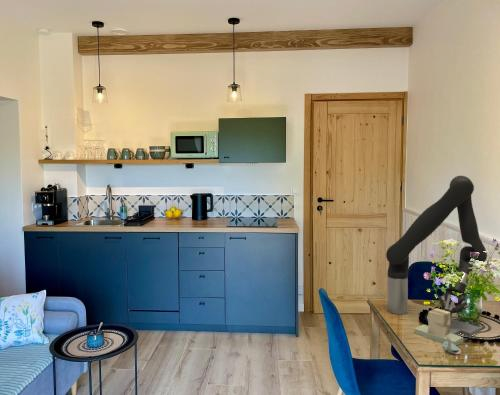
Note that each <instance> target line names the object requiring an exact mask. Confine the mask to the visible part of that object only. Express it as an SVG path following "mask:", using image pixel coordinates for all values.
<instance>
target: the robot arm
mask: <svg viewBox="0 0 500 395" xmlns="http://www.w3.org/2000/svg"><path fill="white" fill-rule="evenodd" d="M474 191H475V185H474V183H473V181H472V180H471V179H470V178H469V177H467V176H465V175H457V176H454V177H453V178H452V179H451V181H450V182H449V188H447V190H446V191H445V193H444V194H443V195H442V196H441V197H440V199H438V200H437V201H436V202H434V203H432V204H431V205H430V206H429V207H427V208H426V209H424V210H423V211H422V213H420V214H419V215H418V217H417V218H416V219H415V220H414V221H413V222H412V224H410V226H409V228H408V229H407V230H406V231H405V233H404V234H403V235H402V236H401V238H399V239H398V240H397V241H396V242H395V243H393V244H392V245H390V247H388V248H387V250H386V253H385V258H386V260H387V262H388V269H387V311H388V312H389V313H391V314H395V315H405V314H408V311H409V310H408V307H409V304H408V302H409V299H408V298H409V297H408V295H409V294H408V293H409V291H408V290H409V288H408V287H409V286H408V285H409V284H408V283H409V280H408V277H409V269H410V268H409V267H410V254H411V252H412V251H413V250H414V249H415V248H416V247H417V246H418V245H419V244H421V243H422V242H423V241H425V240H426V239H427V238H428V237H429V236H431V235H432V234H433V233H434V232H435V231H436V230H437V229H438V228H439V227H440V226H441V224H443V223H444V221H445V220H446V219H447V218H448V217H449V216H450V215H451V213H452V212H453V211H454V210H455V209H457V215H458V216H457V217H458V224H459V231H460V232H459V233H460V236H461V240H462V242H464V243H465V244H468V245H467V246H466V245H465V246H463V247H462V248H461V249H460V252H459V261H458V266H457V268H458V270H457V269H456V271H458V272H463V273H464V275H463V276H462V279H461V281H460V282H459V283H457V284H456V286H455V287H452V285H450V284H449V285H450V286H449V285H448V287H449V288H447V291H446V292H445V293H444V295H438V296H437V298H438V300H439V304H440V306H441V309H442V310H444V311H448V312H450V319H452V315H453V314H454V313H455V314H458V313H461V312H463V311H464V310H467V309H468V308H469V304H468V302H466V298H467V296H466V293H464V291H465V287H466V285H467V283H466V278H467V276H468V275H469V272H470V271H472V269H468V267H472V266H473V265H474V264H472V263H474V262H473V261H470V259H471V257H470V252H479V253H480V254H479V256H478V258H477V259H476V260H479V261H483V263H485V262H486V261H487V258H488V252H487V249H486V247H485V246H484V243H483V242H482V239H481V238H480V234H479V233H480V232H479V227H478V223H477V219H476V215H475V211H474V208H473V201H472V194H474V193H473V192H474ZM469 245H470V246H469ZM483 251H486V252H487V253H485V252H483ZM452 291H455V292H459V293H463V294H462V295H459V296H457V295H455V294H453V293H452ZM451 295H454V296H456V297H457V298H458V303H455V302H453V301H452V300H451V298H450V297H451Z"/></svg>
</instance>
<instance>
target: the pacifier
mask: <svg viewBox="0 0 500 395" xmlns="http://www.w3.org/2000/svg"><path fill="white" fill-rule="evenodd" d="M446 340H447V341H445V342H444V343H442V347H443V348H444V350H445V351H446V352H448V353H449V354H454V355H461V354H462V350H461V349H460V348H459V347H458V345H457V346H456V345H455V344H454V343H452V342H451V339H450V336H449V335H447V336H446Z"/></svg>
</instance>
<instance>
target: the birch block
mask: <svg viewBox="0 0 500 395" xmlns="http://www.w3.org/2000/svg"><path fill="white" fill-rule="evenodd" d="M427 315H428V316H427V317H428V318H427V319H428V320H427V321H428V322H427V323H428V325H427V326H428V333H430V334H433V335H436V336H439V337H442V338H443V337H445V336H446V335H448V334H450V319H451V318H450V312H448V311H444V309H440V308H437V307H436V308H434V309H430V310H429V311H428V314H427Z"/></svg>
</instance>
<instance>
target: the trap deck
mask: <svg viewBox="0 0 500 395" xmlns="http://www.w3.org/2000/svg"><path fill="white" fill-rule="evenodd" d="M481 329H482V328H481V327H480V326H476V325H474V324H470V323H466V322H464V321H460V320H457V319H452V318H450V334H448V335H449V336H450V339H451V342H452V343H454V344H455V345H456V346H457V347H458V346H459V345H461V344H463V343H464V342H466V341H467V340H469V339H468V338H463V337H461V336H458V334H460V333H461V334H464V335H467V336H472V335H474V334H476V335H477V333H478V334H480V333H481ZM479 332H480V333H479ZM414 334H416V335H419V336H421V337H425V338H427V339H430V340H432V341H437V342H439V343H440V344H441V343H442V344H443V343H444V342H445V341H447V340H446V336H447V335H446V336H445V337H443V338H442V337H439V336H436V335H433V334H430V333H428V325H427V324H421V325H419V326H417V327H415V328H414ZM474 336H475V335H474Z"/></svg>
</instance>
